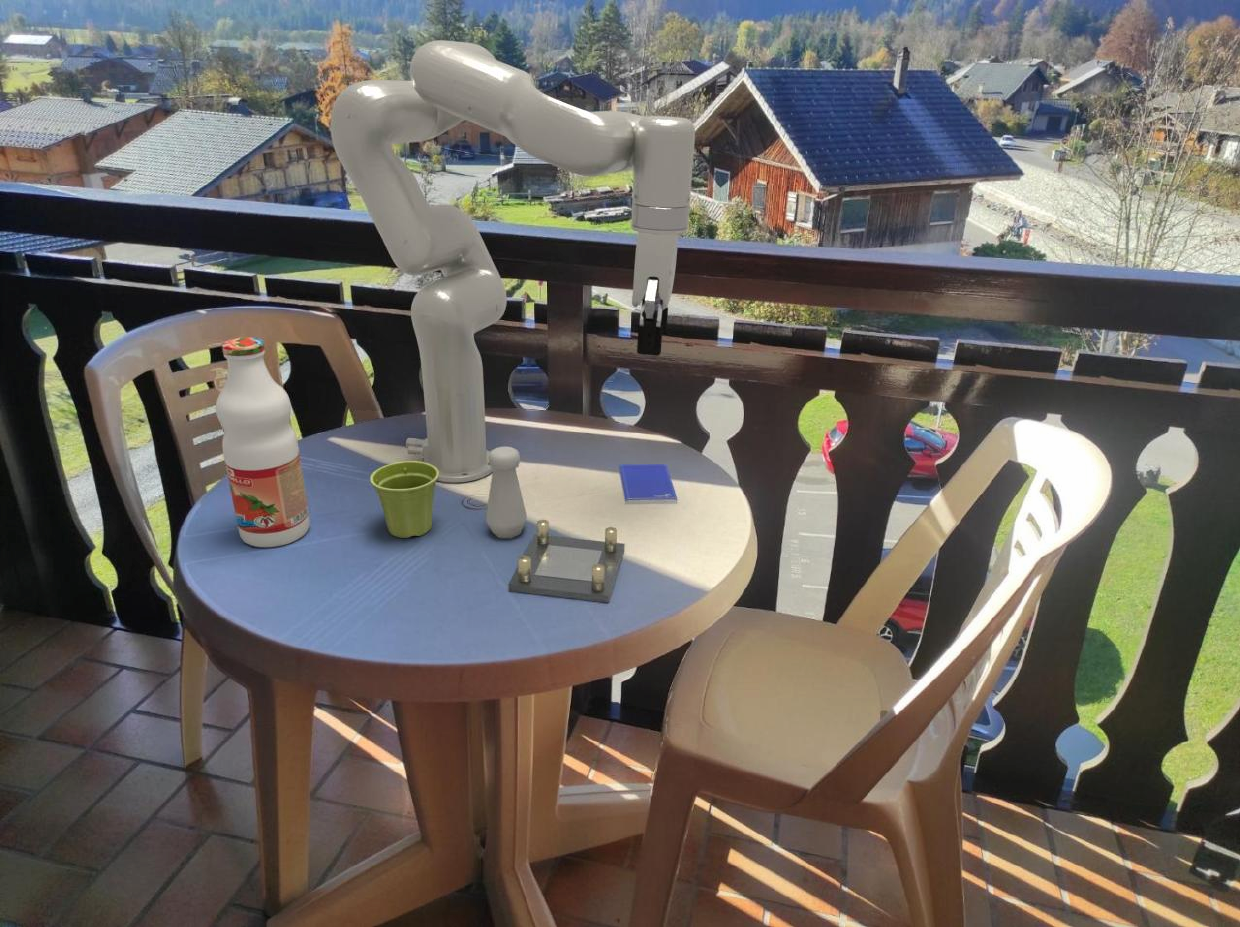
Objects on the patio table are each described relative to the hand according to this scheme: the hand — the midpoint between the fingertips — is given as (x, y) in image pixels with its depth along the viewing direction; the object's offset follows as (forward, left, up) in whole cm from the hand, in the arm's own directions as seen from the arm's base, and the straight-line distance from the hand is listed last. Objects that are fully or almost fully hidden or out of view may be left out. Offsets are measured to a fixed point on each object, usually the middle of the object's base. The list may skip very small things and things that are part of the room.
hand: (652, 343), depth 114 cm
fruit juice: (-51, -18, -27) cm, 60 cm away
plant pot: (-33, -13, -27) cm, 44 cm away
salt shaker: (-19, -12, -27) cm, 34 cm away
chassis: (-8, -19, -26) cm, 34 cm away
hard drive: (-1, +7, -27) cm, 28 cm away
